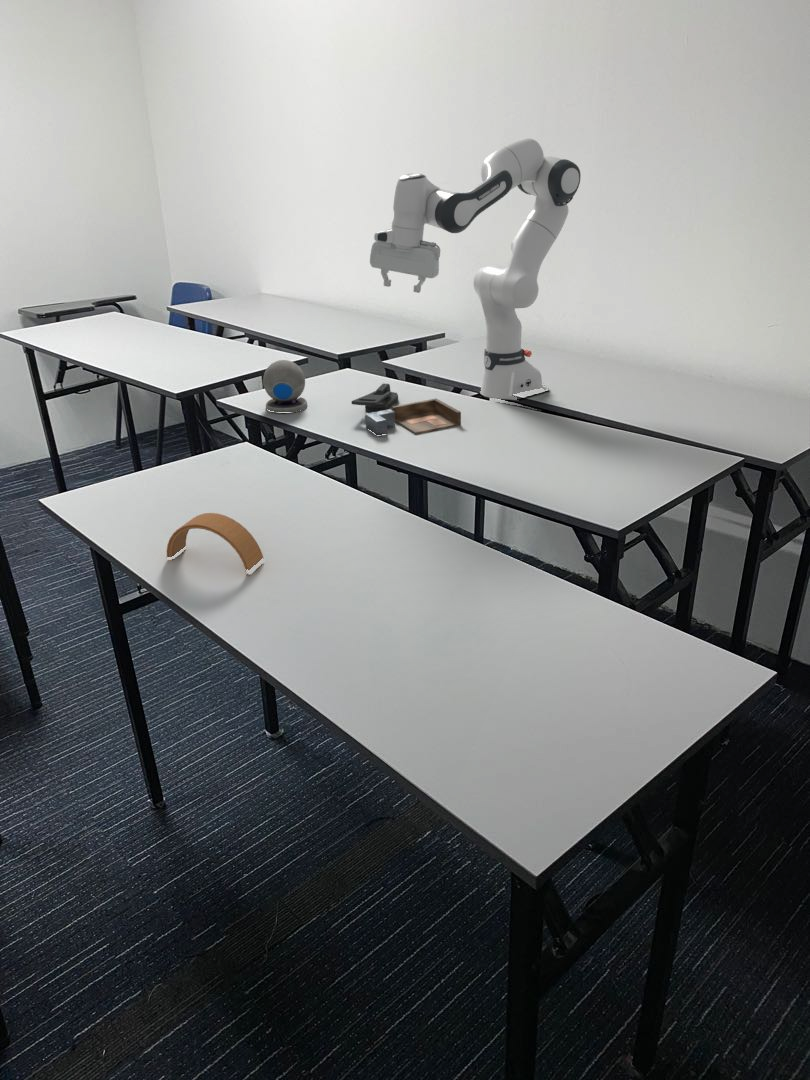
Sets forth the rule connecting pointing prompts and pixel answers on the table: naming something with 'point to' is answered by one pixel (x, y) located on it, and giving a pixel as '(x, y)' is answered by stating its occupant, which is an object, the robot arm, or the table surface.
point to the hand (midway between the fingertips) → (401, 289)
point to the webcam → (284, 387)
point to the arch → (226, 530)
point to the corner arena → (426, 416)
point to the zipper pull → (378, 399)
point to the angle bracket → (380, 421)
